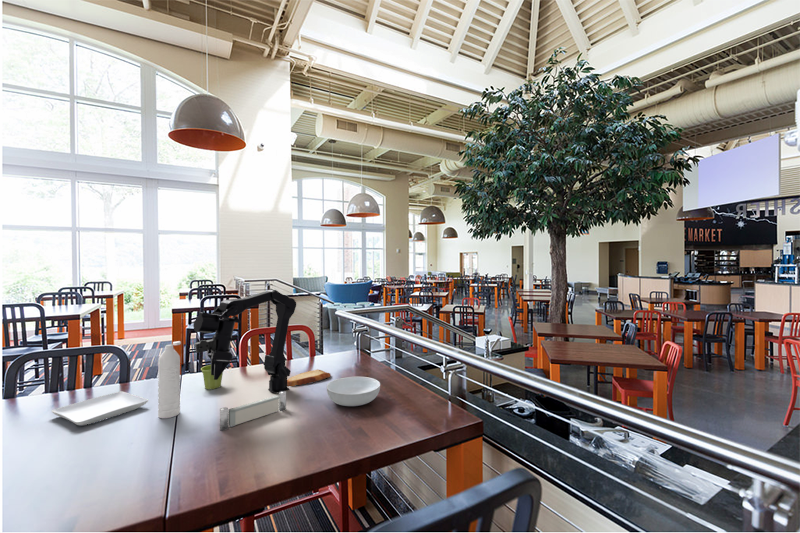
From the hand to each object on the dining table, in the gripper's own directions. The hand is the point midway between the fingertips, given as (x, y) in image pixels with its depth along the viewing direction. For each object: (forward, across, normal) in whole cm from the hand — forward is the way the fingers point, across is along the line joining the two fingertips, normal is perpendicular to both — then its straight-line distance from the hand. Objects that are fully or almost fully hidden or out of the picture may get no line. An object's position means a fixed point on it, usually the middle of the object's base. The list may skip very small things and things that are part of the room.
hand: (214, 377), depth 126 cm
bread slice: (+3, -16, +42) cm, 45 cm away
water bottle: (+15, -8, -10) cm, 20 cm away
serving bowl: (+4, +18, +48) cm, 52 cm away
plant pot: (+10, -30, +5) cm, 32 cm away
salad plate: (+18, -23, -30) cm, 42 cm away
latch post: (+13, +15, +4) cm, 21 cm away
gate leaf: (+11, +13, +14) cm, 22 cm away
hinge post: (+9, +11, +24) cm, 27 cm away
